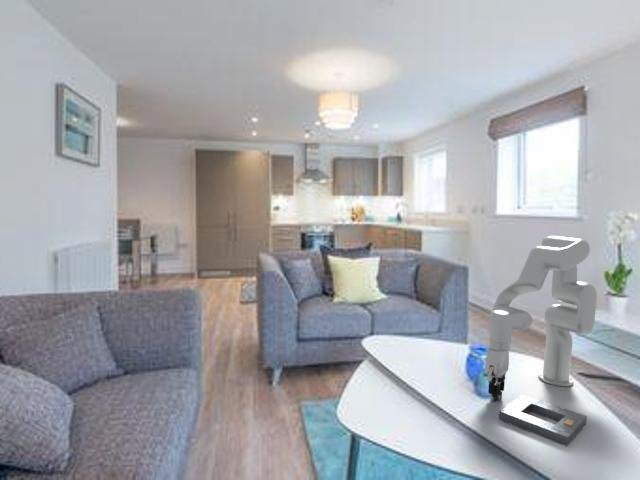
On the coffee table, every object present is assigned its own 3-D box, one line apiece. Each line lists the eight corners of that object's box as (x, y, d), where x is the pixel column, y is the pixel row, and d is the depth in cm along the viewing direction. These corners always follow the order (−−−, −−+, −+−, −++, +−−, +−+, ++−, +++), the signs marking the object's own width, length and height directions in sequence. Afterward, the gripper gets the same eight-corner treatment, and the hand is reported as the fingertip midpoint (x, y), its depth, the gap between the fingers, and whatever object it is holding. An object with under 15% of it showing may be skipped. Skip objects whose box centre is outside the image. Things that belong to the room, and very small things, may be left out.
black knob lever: (497, 404, 158) (499, 378, 157) (483, 399, 162) (485, 373, 160) (505, 399, 162) (507, 373, 161) (492, 394, 166) (493, 368, 165)
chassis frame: (521, 401, 160) (522, 393, 160) (586, 424, 145) (587, 415, 145) (498, 419, 147) (499, 410, 147) (567, 446, 132) (568, 436, 132)
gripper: (499, 336, 168) (496, 382, 170) (478, 347, 157) (475, 395, 159) (519, 341, 163) (516, 388, 165) (498, 352, 151) (495, 403, 153)
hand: (496, 391), depth 162 cm, fingers closed on black knob lever, 4 cm apart
